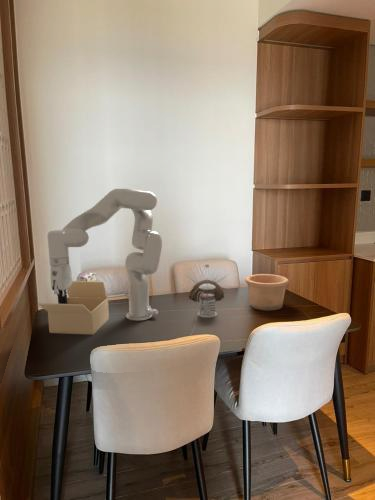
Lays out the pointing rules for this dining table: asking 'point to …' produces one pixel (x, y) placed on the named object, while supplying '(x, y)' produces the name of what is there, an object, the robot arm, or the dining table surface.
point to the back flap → (87, 289)
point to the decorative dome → (217, 291)
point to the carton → (80, 317)
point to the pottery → (266, 291)
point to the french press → (207, 301)
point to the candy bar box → (88, 277)
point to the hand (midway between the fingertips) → (63, 304)
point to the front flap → (64, 308)
